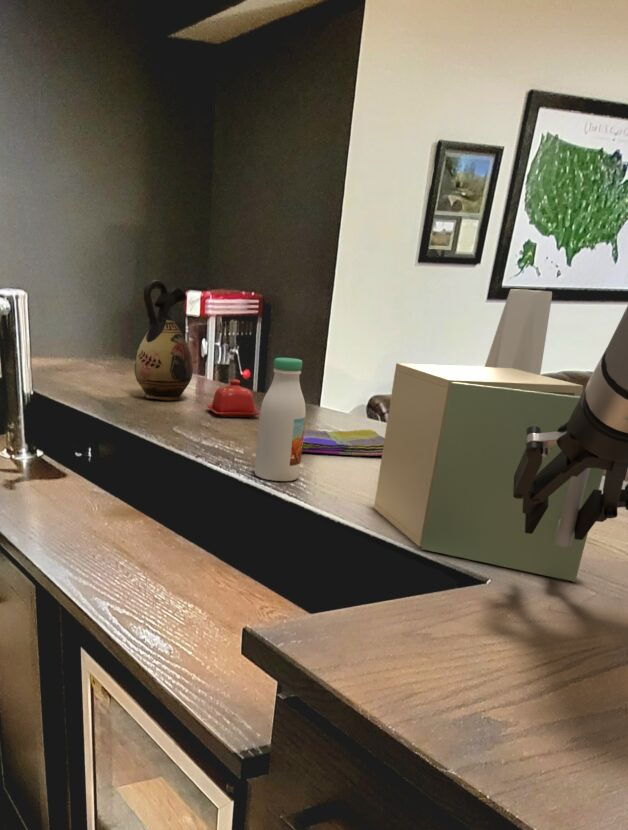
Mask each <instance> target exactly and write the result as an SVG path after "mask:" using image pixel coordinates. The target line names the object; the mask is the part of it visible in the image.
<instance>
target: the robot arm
mask: <svg viewBox="0 0 628 830" xmlns="http://www.w3.org/2000/svg"><path fill="white" fill-rule="evenodd" d="M556 445H558V446H559V448H560V449H561V450H562V451H561V452H560V453H559V454H558V455H557V456H556V457H555V458H554V459H553V460H552V461H551V462H550V463H549V464H548V465H547V466H545V467H544V468H543V469H542V470H541V471H540V472H539V473H538V474H537V472H538V470H539V468H540V466H541V464H542V457H547V456H548V452H549V451H550V450H551V448H552V447H553V446H556ZM587 468H599V469H603V470H604V471H605V475H604V480H603V481H604V482H603V487H602V489H599V490H595V489H594V490H593V491H592V493H591V494H590V496H589V497H588V499H587V500H586V502H585V503H584V505H583V506H582V508H581V509H580V511H579V515H578V519H577V523H576V526H575V539H578V540H583V538H584V537H585V536H586V534H587V533H588V534H589V532H590V531H591V529H592V527H593V526H594V525H595V524H596V522H598V523H603V522H605V521H607V519H616V518H617V517H618V508H625V510H626V511H628V483H627V484H626V485H625V486H624V488H623V485H624V481H625V480H626V476H627V473H628V305H627V306H626V308H625V310H624V312H623V314H622V316H621V318H620V320H619V322H618V325H617V327H616V328H615V331H614V332H613V334H612V336H611V338H610V341H609V343H608V345H607V347H606V348H605V350H604V352H603V354H602V355H601V357H600V359H599V361H598V363H597V365H596V367H595V368H594V370H593V372H592V374H591V376H590V377H589V379H588V381H587V383H586V386H585V388H583V390H582V393H581V397H580V399H579V400H578V402H577V404H576V406H575V408H574V410H573V412H572V414H571V417H570V419H569V421H568V422H566V423H565V424H563V425H561V426H560V427H559V428H558V430H557V431H556V432H546V433H541V429H540V428H539V427H536V426H532V427H529V428H527V436H526V449H525V451H524V454H523V456H522V458H521V461H520V463H519V465H518V468H517V470H516V472H515V475H514V487H513V497H514V498H516V499H523V498H524V499H523V513H525V533H529V534H532V533H533V532H534V530H535V528H536V527H537V525H538V523H539V522H540V520H541V518H542V517H543V515H544V513H545V511H546V510H547V508H548V497H549V496H550V495H551V494H552V493H554V492H555V491H556V490H557V489H558V488H559V487H560V486H562V485H563V484H564V483H565V482H566V481H567V480H569V479H570V478H571V477H572V476H575V477H577V476H578V475H579V474H581V473H582V472H583V471H584V470H585V469H587ZM536 474H537V475H536ZM588 534H587V535H588Z"/></svg>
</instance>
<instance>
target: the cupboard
mask: <svg viewBox="0 0 628 830" xmlns="http://www.w3.org/2000/svg"><path fill="white" fill-rule="evenodd" d="M452 382H458V383H467V384H476V385H484V386H493V387H502V388H510V389H519V390H527V391H536V392H545V393H553V394H562V395H571V396H579V397H581V395H582V393H583V391H584V385H582V384H579V383H578V384H577V383H574V382H569V381H567V380H562V379H557V378H555V377H550V376H545V375H541V374H540V375H538V374H534V373H530V372H526V371H521V370H517V369H513V368H495V367H485V366H472V365H450V364H449V365H448V364H447V365H446V364H429V363H428V364H426V363H425V364H423V363H405V362H404V363H403V362H396V363H395V370H394V375H393V383H392V389H391V394H390V395H391V396H390V402H389V408H388V414H387V421H386V427H385V433H384V438H385V440H384V446H383V453H382V456H381V460H380V466H379V473H378V478H377V479H378V480H377V485H376V486H377V487H376V492H375V500H374V506H373V509H374V510H375V511H376V512H378V513H379V514H380V515H381V516H382V517H383V518H385V519H386V520H387V521H388V522H389V523H390V524H392V525H393V527H395V528H396V529H398V530H399V531H400V532H401V533H402V534H403V535H405V537H407V538H408V539H409V540H411V541H412V542H413V543H414V544H415V545H417V546H418V547H419V548H422V543H423V538H424V532H425V527H426V521H427V515H428V510H429V504H430V499H431V493H432V488H433V482H434V476H435V471H436V465H437V460H438V454H439V449H440V443H441V437H442V432H443V426H444V421H445V415H446V410H447V404H448V399H449V393H450V387H451V383H452Z"/></svg>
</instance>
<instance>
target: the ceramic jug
mask: <svg viewBox="0 0 628 830" xmlns="http://www.w3.org/2000/svg"><path fill="white" fill-rule="evenodd" d="M156 289H157V290H160V294H159V296H158V297H157V299H156V300H155V302H154V303H153V299H152V291H153V290H156ZM186 300H187V295H186V293H185V291H183V290H182V289H181V288H180V287H179V286H175V287H174V288H173V287H170V288H169V289H168V286H167V284H165V282H163V281H161V280H159V279H151V280H149V281H148V282H146V283H145V286H144V288H143V301H144V305H145V309H146V312H147V318H148V320H149V321H148V323H149V326H148V331H147V332H146V334H145V335H144V337H143V339H142V340H141V342H140V344H139V347H138V348H137V352H136V355H135V360H134V376H135V380H136V382H137V383H138V385H139V386H140V387H141V390H142V391H143V392H144V393H145V398H146V399H154V400H161V401H181V396H182V395H183V393H184V392H185V390H186V389H187V388H188V386H189V384H190V383H191V380H192V378H193V372H194V365H193V357H192V354H191V350H190V347H189V345H188V343H187V341H186V339H185V337H184V335H183V333H182V331H181V330H180V327H179V326H178V324H177V323H176V321H175V320H174V318H173V313H172V309H173V308H174V307H175V306H177V305H179V304H181V303H183V302H185V301H186ZM154 307H157V308H158V313H157V315H156V312H155V309H154ZM136 401H137V400H136Z"/></svg>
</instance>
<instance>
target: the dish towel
mask: <svg viewBox="0 0 628 830" xmlns="http://www.w3.org/2000/svg"><path fill="white" fill-rule="evenodd" d="M384 440H385V437H383V436H382V435H379V434H378V433H377V432H376V430H375V431H374V430H372V429H359V430H356V429H355V430H347V431H344V430H342V431H340V430H339V431H337V430H333V431H327V430H315V429H308V428H307V429H306V428H304V436H303V445H302V453H317V454H327V455H329V454H330V455H342V456H343V455H346V456H364V457H365V456H367V457H371V456H372V457H373V456H375V457H382V453H383V446H384Z"/></svg>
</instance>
